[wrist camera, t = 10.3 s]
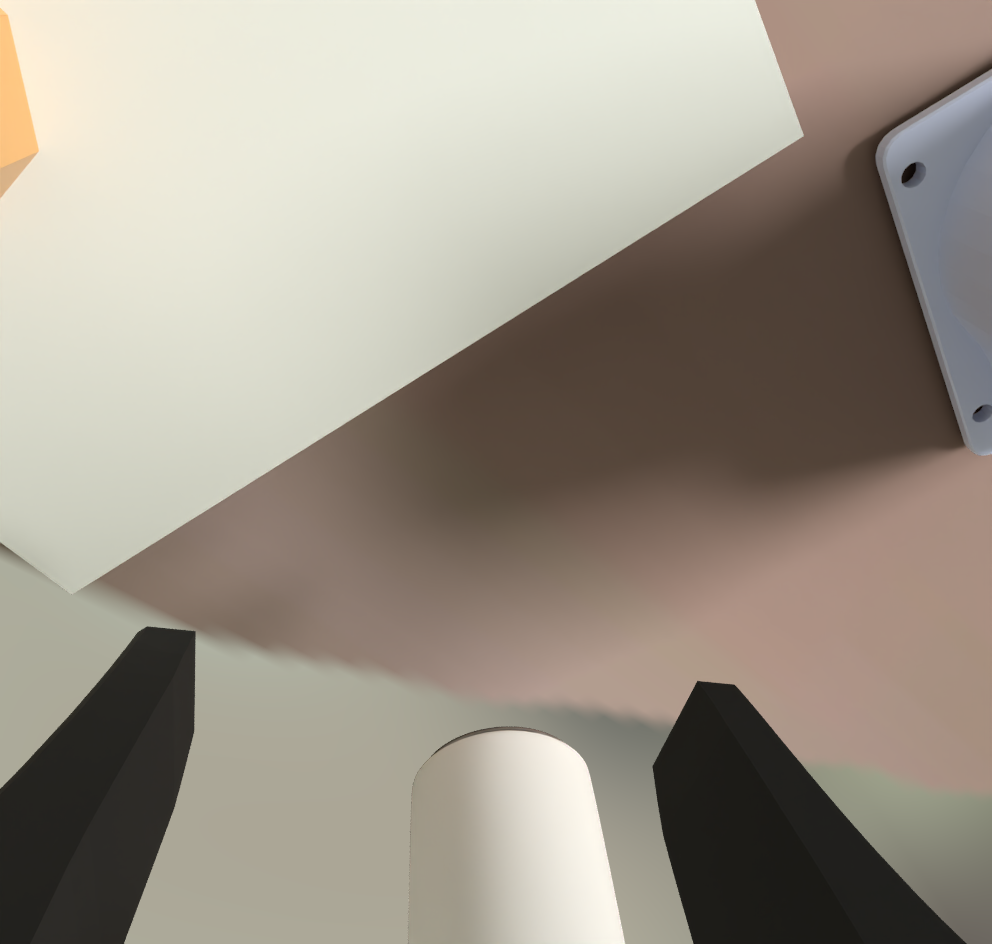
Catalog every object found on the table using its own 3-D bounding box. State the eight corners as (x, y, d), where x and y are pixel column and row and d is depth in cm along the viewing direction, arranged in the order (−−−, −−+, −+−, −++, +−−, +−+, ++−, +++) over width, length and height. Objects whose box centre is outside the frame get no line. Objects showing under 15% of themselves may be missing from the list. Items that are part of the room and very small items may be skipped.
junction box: (743, 110, 16) (893, 172, 11) (116, 517, 20) (11, 698, 15) (290, -1023, 9) (97, -2437, 4) (-525, -16, 13) (-1131, -15, 8)
